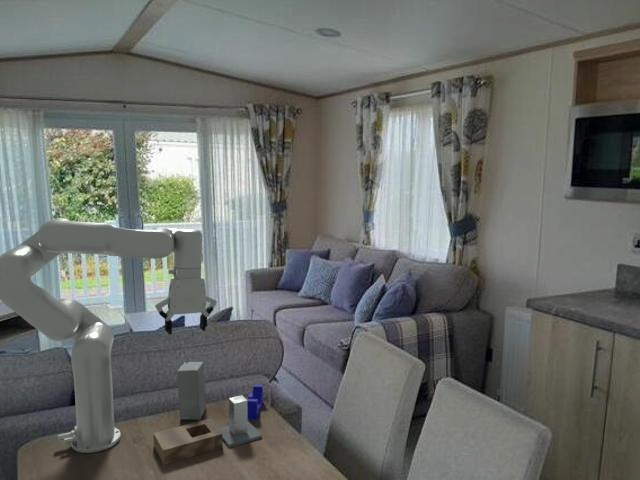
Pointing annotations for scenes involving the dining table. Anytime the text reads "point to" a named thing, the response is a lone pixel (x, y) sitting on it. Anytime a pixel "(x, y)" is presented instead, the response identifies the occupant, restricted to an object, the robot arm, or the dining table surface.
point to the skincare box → (191, 390)
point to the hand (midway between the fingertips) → (186, 331)
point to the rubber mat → (241, 439)
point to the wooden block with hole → (187, 441)
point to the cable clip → (255, 402)
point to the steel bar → (238, 416)
